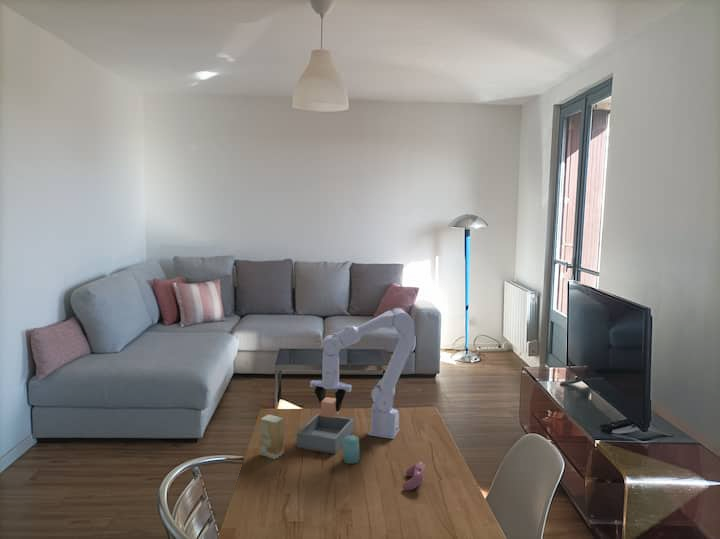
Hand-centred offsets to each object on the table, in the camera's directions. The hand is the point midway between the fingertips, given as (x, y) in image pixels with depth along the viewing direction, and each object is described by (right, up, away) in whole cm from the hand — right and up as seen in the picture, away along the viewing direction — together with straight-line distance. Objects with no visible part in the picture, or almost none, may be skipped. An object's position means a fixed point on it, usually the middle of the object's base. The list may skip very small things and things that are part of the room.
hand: (330, 409), depth 190 cm
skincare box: (-18, -11, -14) cm, 25 cm away
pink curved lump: (+26, -14, -31) cm, 42 cm away
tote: (-1, -10, -3) cm, 10 cm away
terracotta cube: (0, -2, 0) cm, 2 cm away
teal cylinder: (+8, -12, -17) cm, 22 cm away
